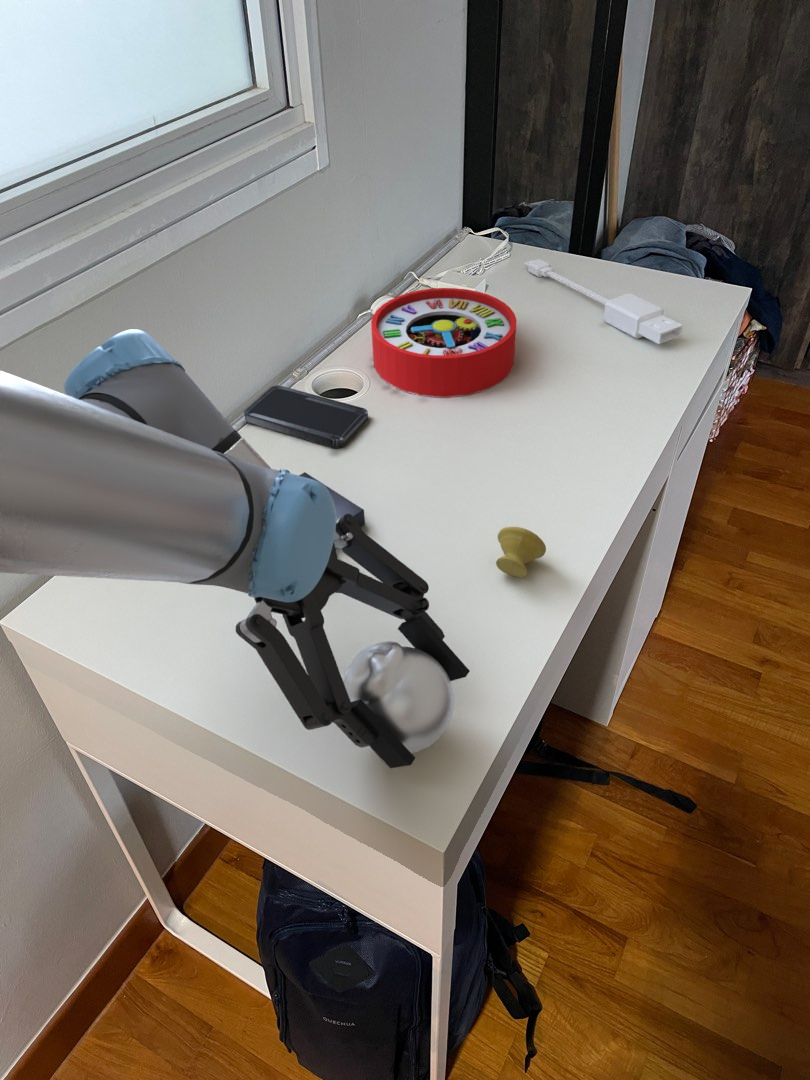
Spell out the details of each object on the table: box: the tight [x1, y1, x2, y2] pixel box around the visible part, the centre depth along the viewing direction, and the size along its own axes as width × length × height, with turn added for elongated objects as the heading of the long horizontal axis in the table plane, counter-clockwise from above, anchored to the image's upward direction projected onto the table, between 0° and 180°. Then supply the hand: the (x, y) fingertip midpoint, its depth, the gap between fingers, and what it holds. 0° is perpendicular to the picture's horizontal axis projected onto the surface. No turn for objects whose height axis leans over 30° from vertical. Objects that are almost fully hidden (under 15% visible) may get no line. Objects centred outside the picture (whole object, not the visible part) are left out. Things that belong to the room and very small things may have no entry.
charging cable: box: [523, 258, 684, 345], centre depth 126 cm, size 5×32×3 cm, turn 31°
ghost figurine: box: [343, 640, 455, 754], centre depth 68 cm, size 9×10×10 cm
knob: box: [495, 526, 547, 578], centre depth 83 cm, size 5×5×5 cm
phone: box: [243, 384, 369, 449], centre depth 106 cm, size 8×1×15 cm
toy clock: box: [370, 287, 517, 398], centre depth 114 cm, size 20×6×20 cm
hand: (431, 717), depth 67 cm, fingers closed on ghost figurine, 9 cm apart
